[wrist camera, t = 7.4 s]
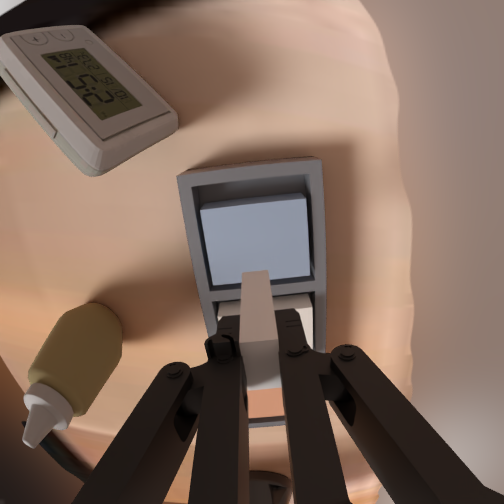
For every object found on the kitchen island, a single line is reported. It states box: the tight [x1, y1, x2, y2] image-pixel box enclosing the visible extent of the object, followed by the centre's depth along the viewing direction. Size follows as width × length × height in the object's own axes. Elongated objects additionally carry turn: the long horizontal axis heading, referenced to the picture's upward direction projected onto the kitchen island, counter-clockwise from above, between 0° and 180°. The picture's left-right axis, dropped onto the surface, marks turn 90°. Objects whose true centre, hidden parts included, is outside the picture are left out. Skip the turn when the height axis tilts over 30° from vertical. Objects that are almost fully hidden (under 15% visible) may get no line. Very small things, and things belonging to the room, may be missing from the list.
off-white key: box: [218, 293, 313, 349], centre depth 28 cm, size 6×8×2 cm
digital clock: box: [0, 25, 178, 177], centre depth 18 cm, size 16×9×11 cm, turn 31°
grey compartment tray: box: [177, 156, 326, 428], centre depth 29 cm, size 30×11×4 cm, turn 6°
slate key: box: [200, 193, 310, 285], centre depth 25 cm, size 6×8×2 cm
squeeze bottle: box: [22, 303, 122, 448], centre depth 23 cm, size 8×8×18 cm
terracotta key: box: [247, 387, 284, 418], centre depth 32 cm, size 6×8×2 cm
